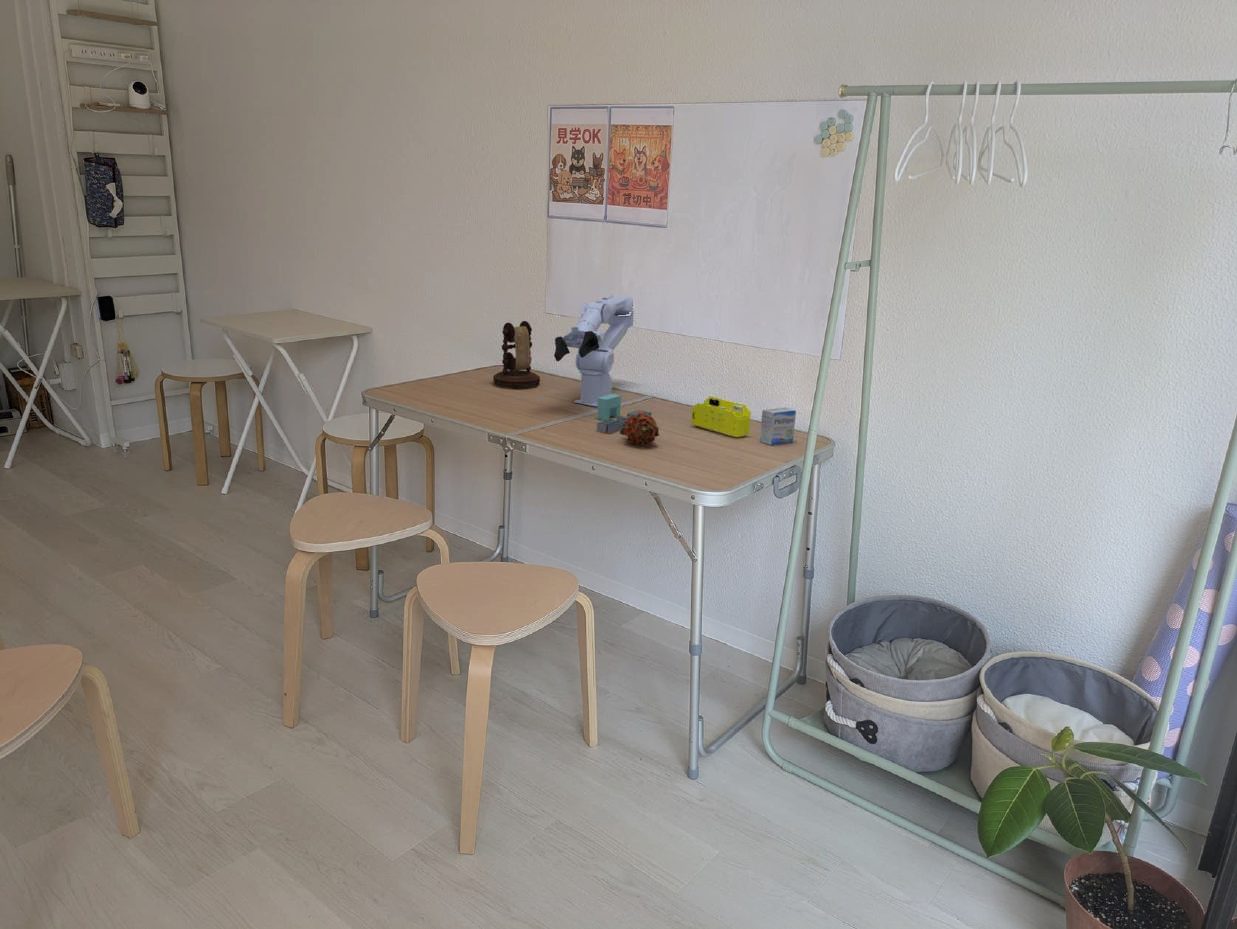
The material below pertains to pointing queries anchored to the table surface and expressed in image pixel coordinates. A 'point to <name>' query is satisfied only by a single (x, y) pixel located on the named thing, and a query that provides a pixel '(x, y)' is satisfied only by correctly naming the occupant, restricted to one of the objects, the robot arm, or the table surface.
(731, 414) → the yellow toy chassis
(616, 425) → the rail
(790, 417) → the medicine box
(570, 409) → the table surface
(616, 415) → the clip
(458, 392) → the table surface
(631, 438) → the brown scaly rounded piece
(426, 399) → the table surface
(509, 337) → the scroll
